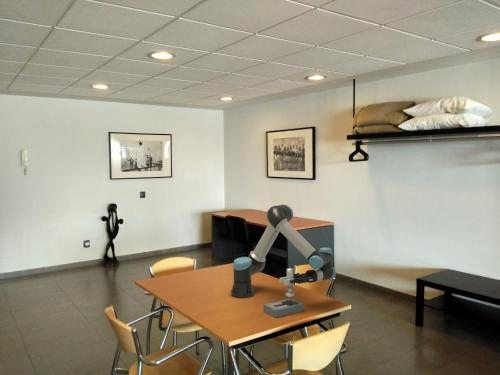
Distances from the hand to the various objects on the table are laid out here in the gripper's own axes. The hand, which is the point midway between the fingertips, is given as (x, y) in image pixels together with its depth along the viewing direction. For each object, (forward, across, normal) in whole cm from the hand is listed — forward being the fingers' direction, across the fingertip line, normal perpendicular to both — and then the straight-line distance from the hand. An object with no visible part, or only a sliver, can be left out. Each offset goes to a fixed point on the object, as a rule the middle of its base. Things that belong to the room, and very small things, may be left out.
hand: (282, 281), depth 227 cm
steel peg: (-5, 0, -10) cm, 11 cm away
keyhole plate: (0, 0, -17) cm, 17 cm away
